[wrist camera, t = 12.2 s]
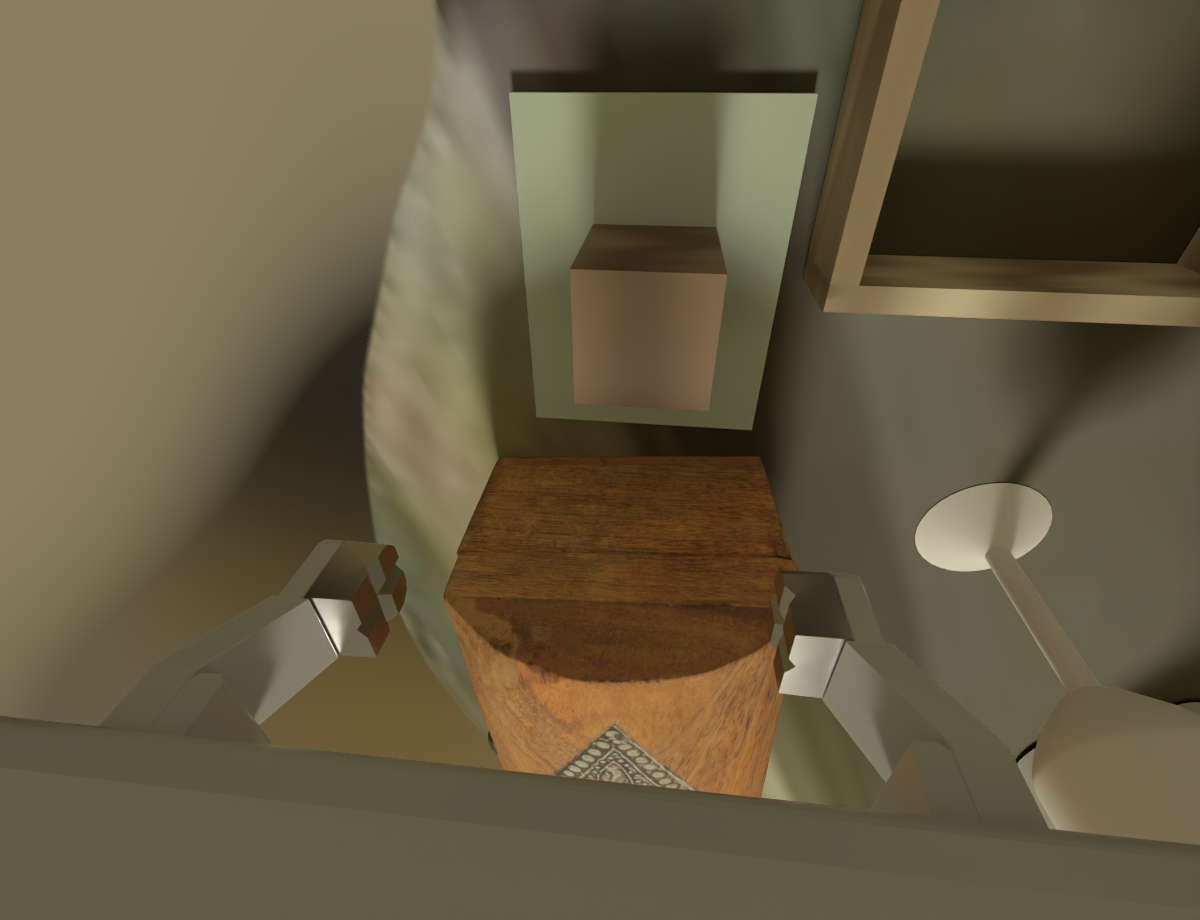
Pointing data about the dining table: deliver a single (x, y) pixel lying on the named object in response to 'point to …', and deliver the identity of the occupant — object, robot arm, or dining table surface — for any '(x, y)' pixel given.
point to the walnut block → (647, 315)
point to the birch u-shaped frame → (952, 284)
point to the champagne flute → (1076, 688)
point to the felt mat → (658, 218)
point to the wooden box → (624, 618)
